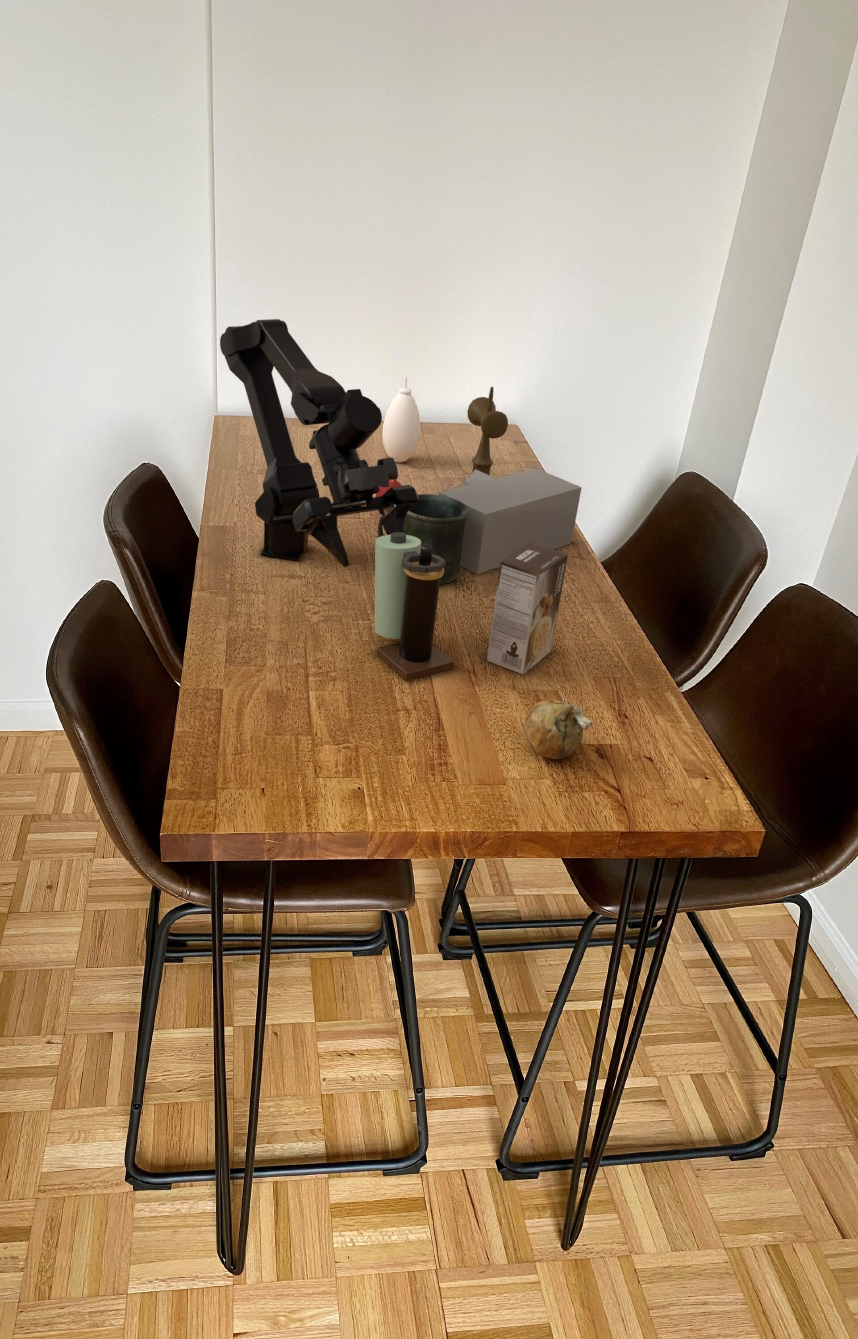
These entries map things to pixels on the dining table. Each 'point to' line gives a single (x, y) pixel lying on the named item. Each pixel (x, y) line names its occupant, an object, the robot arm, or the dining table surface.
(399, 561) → the mint green lidded canister
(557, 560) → the coffee box
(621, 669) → the dining table surface
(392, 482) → the onion
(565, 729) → the onion
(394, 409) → the sauce bottle
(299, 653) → the dining table surface
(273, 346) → the robot arm
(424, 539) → the mug
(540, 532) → the plain grey rectangular block
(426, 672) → the black cylinder with base
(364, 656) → the dining table surface
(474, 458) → the kendama
